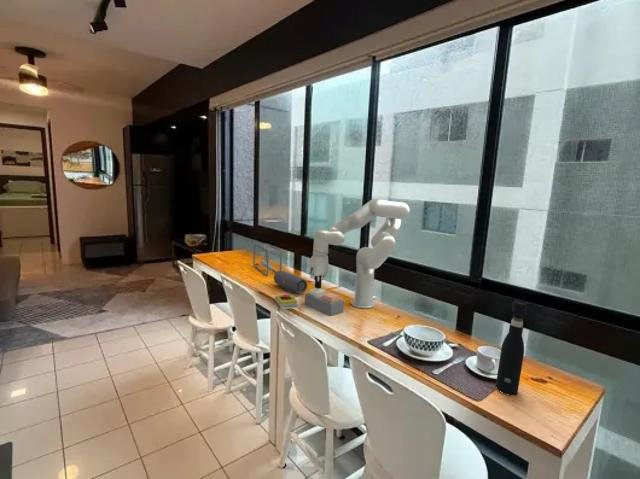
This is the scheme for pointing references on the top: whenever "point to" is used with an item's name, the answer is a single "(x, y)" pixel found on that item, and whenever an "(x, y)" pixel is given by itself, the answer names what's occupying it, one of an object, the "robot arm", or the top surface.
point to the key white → (317, 292)
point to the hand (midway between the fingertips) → (317, 287)
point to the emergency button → (286, 301)
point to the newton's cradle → (267, 258)
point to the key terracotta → (331, 297)
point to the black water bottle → (512, 353)
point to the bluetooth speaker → (290, 282)
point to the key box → (324, 305)
